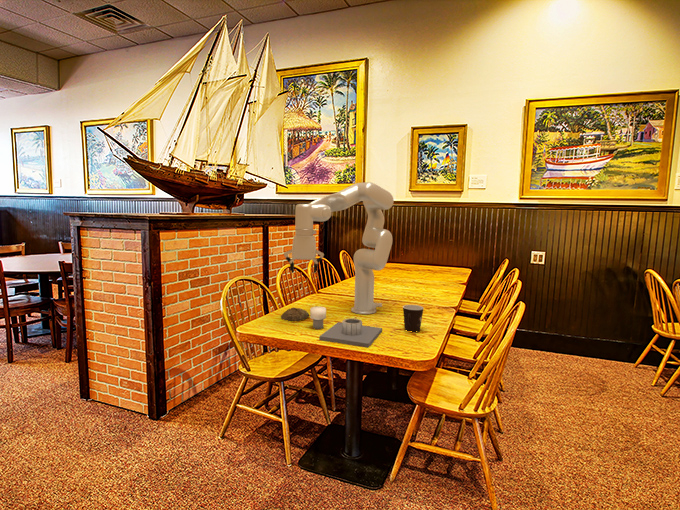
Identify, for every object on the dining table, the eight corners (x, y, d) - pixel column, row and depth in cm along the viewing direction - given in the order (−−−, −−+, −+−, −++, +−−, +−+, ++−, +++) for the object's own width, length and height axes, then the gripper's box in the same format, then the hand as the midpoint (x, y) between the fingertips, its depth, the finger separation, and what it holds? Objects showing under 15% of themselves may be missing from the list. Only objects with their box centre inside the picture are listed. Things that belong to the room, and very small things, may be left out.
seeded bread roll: (312, 317, 176) (312, 307, 175) (296, 323, 165) (296, 313, 165) (292, 313, 183) (292, 303, 182) (274, 318, 172) (274, 308, 172)
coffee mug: (411, 325, 165) (412, 303, 163) (426, 330, 158) (427, 308, 157) (393, 330, 157) (393, 307, 156) (408, 336, 151) (409, 312, 150)
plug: (322, 324, 164) (323, 306, 163) (327, 329, 158) (328, 309, 157) (308, 326, 162) (308, 307, 160) (312, 330, 155) (313, 311, 154)
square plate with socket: (338, 325, 163) (338, 312, 162) (382, 331, 156) (382, 317, 155) (319, 340, 145) (319, 325, 144) (368, 347, 137) (369, 331, 137)
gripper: (324, 233, 162) (324, 271, 164) (285, 232, 162) (285, 270, 164) (324, 234, 154) (323, 274, 157) (282, 233, 154) (282, 273, 156)
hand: (303, 272), depth 160 cm, fingers open, 9 cm apart
